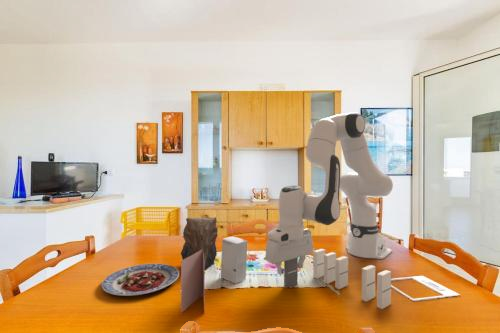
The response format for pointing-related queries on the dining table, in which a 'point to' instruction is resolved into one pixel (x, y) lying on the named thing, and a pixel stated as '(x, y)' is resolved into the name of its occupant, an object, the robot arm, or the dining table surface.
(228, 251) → the skincare box
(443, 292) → the photo frame
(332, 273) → the domino
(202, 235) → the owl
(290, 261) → the domino
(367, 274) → the domino
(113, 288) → the ceramic plate
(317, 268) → the domino
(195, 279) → the greeting card
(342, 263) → the domino
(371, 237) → the robot arm
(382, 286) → the domino
